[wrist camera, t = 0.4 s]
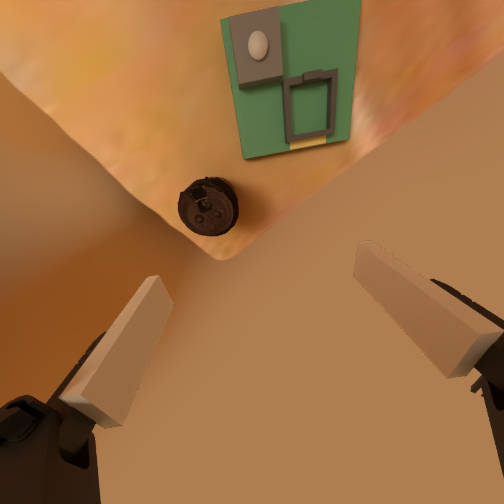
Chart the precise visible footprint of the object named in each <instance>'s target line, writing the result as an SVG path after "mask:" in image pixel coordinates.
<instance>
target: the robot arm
mask: <svg viewBox="0 0 504 504" xmlns="http://www.w3.org/2000/svg"><path fill="white" fill-rule="evenodd" d="M353 276H354V278H355V279H356V280H357V281H358V282H359V283H360V284H361V285H362V286H363V287H364V288H365V290H366V291H367V292H368V293H369V294H370V295H371V296H372V297H373V298H374V299H375V301H376V302H377V303H378V304H379V305H380V306H381V307H382V308H383V309H384V310H385V312H386V313H387V314H388V315H389V316H390V317H391V318H392V319H393V320H394V321H395V323H396V324H397V325H398V326H399V327H400V328H401V329H402V330H403V331H404V332H405V333H406V335H407V336H408V337H409V338H410V339H411V340H412V341H413V342H414V343H415V344H416V346H418V348H419V349H420V350H421V351H422V352H423V353H424V354H425V355H426V356H427V357H428V359H429V360H430V361H431V362H432V363H433V364H434V365H435V366H436V367H437V368H438V370H439V371H440V372H441V373H442V374H443V375H444V376H445V377H446V378H447V379H448V378H454V377H461V376H467V375H468V373H469V372H470V371H471V370H472V369H473V368H474V367H475V368H476V369H477V370H478V371H479V372H480V373H481V374H482V375H481V376H480V377H479V379H478V380H477V381H476V382H475V383H474V384H473V385H472V386H471V392H473V393H476V392H477V391H478V390H479V389H480V388H482V392H483V394H482V395H481V396H482V397H484V400H485V404H486V408H487V412H488V417H489V421H490V424H491V428H492V433H493V437H494V440H495V445H496V449H497V453H498V457H499V461H500V465H501V469H502V473H503V477H504V320H502V319H501V318H499V317H498V316H496V315H494V314H493V313H491V312H490V311H488V310H486V309H485V308H483V307H482V306H480V305H479V304H477V303H476V302H472V300H471V299H469V298H468V297H466V296H465V295H461V293H460V292H458V291H457V290H455V289H454V288H452V287H450V286H449V285H447V284H445V283H442V282H440V281H437V280H435V279H430V280H429V279H427V278H426V277H424V276H423V275H421V274H420V273H418V272H417V271H415V270H414V269H413V268H411V267H410V266H408V265H407V264H405V263H404V262H402V261H400V260H399V259H398V258H396V257H395V256H393V255H392V254H390V253H389V252H387V251H386V250H384V249H383V248H382V247H380V246H378V245H377V244H376V243H374V242H373V241H371V240H368V241H361V242H359V243H358V248H357V254H356V261H355V267H354V273H353ZM173 306H174V304H173V302H172V300H171V298H170V296H169V294H168V292H167V290H166V288H165V286H164V284H163V283H162V281H161V279H160V277H159V275H157V276H151V277H147V278H146V280H145V281H144V282H143V284H142V285H141V286H140V288H139V289H138V290H137V292H136V293H135V295H134V296H133V297H132V299H131V300H130V302H129V303H128V304H127V305H126V307H125V308H124V309H123V311H122V312H121V314H120V315H119V316H118V318H117V319H116V320H115V322H114V323H113V324H112V326H111V327H110V328H109V330H108V331H107V332H104V333H103V334H101V335H100V336H99V337H98V338H97V339H96V340H95V341H94V342H93V343H92V344H91V346H90V347H89V348H88V349H87V351H86V352H85V355H83V356H82V357H81V359H80V360H79V361H78V364H76V365H75V366H74V368H73V369H72V370H71V372H70V373H69V374H68V376H67V377H66V378H65V379H64V381H63V382H62V383H61V385H60V386H59V387H58V389H57V390H56V391H55V392H54V394H53V395H52V396H51V398H50V399H49V400H48V401H47V403H46V404H44V403H42V402H41V401H39V400H37V399H36V398H34V397H32V396H29V395H24V396H20V397H18V398H16V399H14V400H12V401H10V402H8V403H7V404H5V405H4V406H2V407H1V408H0V504H101V501H100V490H99V479H98V467H97V456H96V444H95V436H94V434H93V433H92V430H93V428H94V426H95V424H96V423H97V424H98V425H100V426H101V427H103V428H112V427H118V426H123V424H124V421H125V419H126V417H127V414H128V412H129V410H130V407H131V405H132V403H133V400H134V398H135V396H136V393H137V391H138V389H139V386H140V384H141V382H142V379H143V377H144V374H145V372H146V370H147V367H148V365H149V363H150V360H151V358H152V356H153V353H154V351H155V349H156V346H157V344H158V342H159V339H160V337H161V335H162V332H163V330H164V328H165V325H166V323H167V321H168V318H169V316H170V314H171V311H172V309H173Z"/></svg>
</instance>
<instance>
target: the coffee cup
mask: <svg viewBox="0 0 504 504" xmlns="http://www.w3.org/2000/svg"><path fill="white" fill-rule="evenodd" d="M178 212H179V216H180V219H181V220H182V222H183V223H184V224H185V225H186V226H187V227H188V228H189V229H190V230H191V231H193V232H194V233H197V234H199V235H204V236H219V235H223V234H225V233H227V232H228V231H229V230H230V229H231V228H232V227H233V226H234V225H235V223H236V221H237V219H238V215H239V206H238V199H237V197H236V194H235V192H234V189H233V187H232V185H231V184H230V183H229V182H228V181H227V180H225V179H224V178H219V177H210V178H208V177H205V179H199V180H196V181H194V182H193V183H192V184H191V185H190V186H189V187H188V188H187V189H186V190H185V191H184V192H180V198H179V202H178Z"/></svg>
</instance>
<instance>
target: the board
mask: <svg viewBox="0 0 504 504" xmlns="http://www.w3.org/2000/svg"><path fill="white" fill-rule="evenodd" d="M360 9H361V0H309V1H304V2H299V3H295V4H290V5H285V6H281V7H279V6H278V7H273V8H268V9H264V10H259V11H254V12H250V13H245V14H240V15H235V16H231V17H229V18H225V19H220V21H221V28H222V34H223V40H224V46H225V52H226V58H227V64H228V69H229V75H230V81H231V87H232V93H233V99H234V105H235V111H236V117H237V123H238V129H239V135H240V141H241V147H242V153H243V158H244V159H248V158H253V157H258V156H263V155H269V154H274V153H279V152H284V151H290V150H295V149H300V148H305V147H311V146H316V145H321V144H326V143H332V142H337V141H342V140H347V139H349V137H350V125H351V114H352V102H353V90H354V79H355V67H356V55H357V44H358V32H359V20H360Z"/></svg>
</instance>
